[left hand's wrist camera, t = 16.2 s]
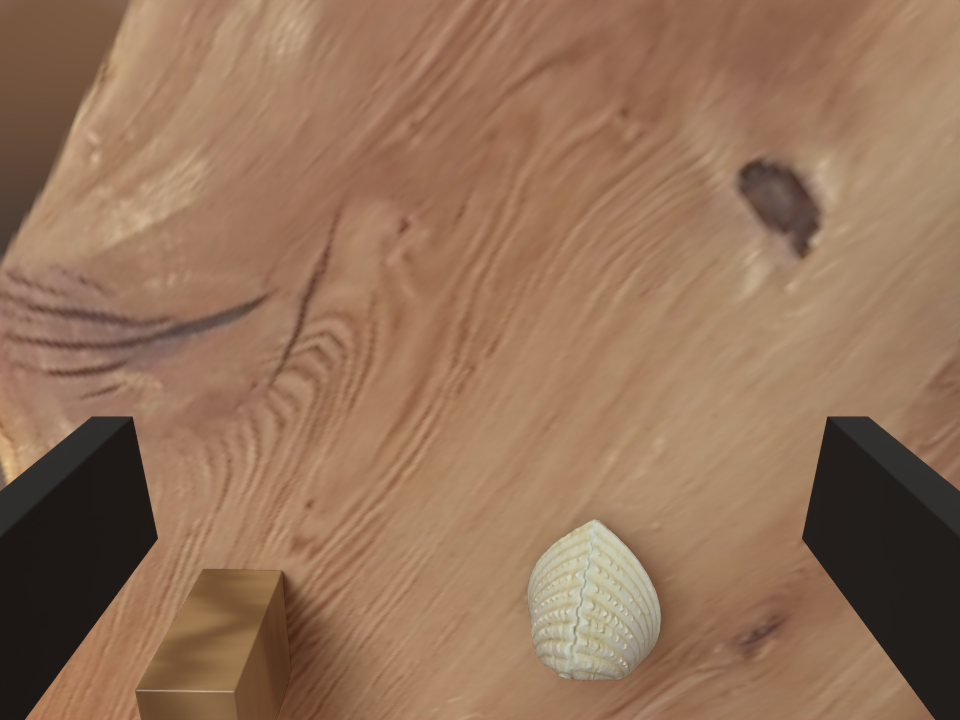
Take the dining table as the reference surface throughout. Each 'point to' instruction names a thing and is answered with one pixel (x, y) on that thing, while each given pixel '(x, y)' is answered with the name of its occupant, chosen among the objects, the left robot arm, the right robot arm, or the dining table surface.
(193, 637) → the brick
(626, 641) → the seashell
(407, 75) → the dining table surface
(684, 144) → the dining table surface
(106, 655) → the dining table surface
